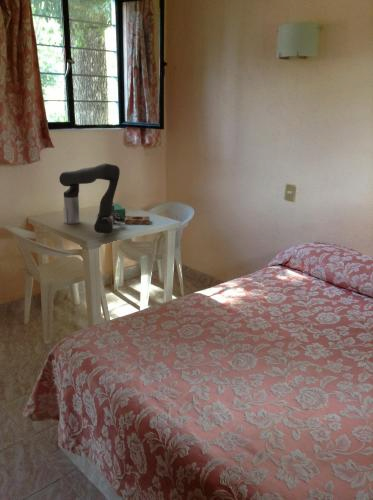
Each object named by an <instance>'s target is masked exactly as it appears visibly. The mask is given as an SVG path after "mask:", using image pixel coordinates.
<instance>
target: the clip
mask: <svg viewBox="0 0 373 500" xmlns="http://www.w3.org/2000/svg"><path fill="white" fill-rule="evenodd" d="M115 204H116V203H113V204H112V212H111V214H115ZM115 223H116V219H114V221H113V225H114V224H115Z"/></svg>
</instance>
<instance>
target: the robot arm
mask: <svg viewBox="0 0 373 500" xmlns="http://www.w3.org/2000/svg"><path fill="white" fill-rule="evenodd" d="M120 173H121V172H120V168H119V166H118V165H117V164H116V165H115V164H111V163H110V164H109V163H106V162H105V163H100V164H98V165H96V166H89V167H84V168H80V169H77V170H72V171H69V170H68V171H63V172H62V173H60V175H59V183H60V184H61V186H63V187H69V188H68V189H67V190H65V191H63V205H64V207H63V220H64V221H63V222H64V223H66V224H67V225H73V224H74V225H75V224H79V223H80V221H81V220H80V205H79V204H80V202H79V201H80V200H79V193H80V185H86V184H88V185H89V184H92V183H95V181H96V180H103V181H109V184H108V187H107V189H106V191H105V193H104V195H102V198H101V199H100V201H99V202H100V203H99V212H98V214H97V218H96V219H95V223H94V226H93V230H94V231H95V232H96V233H99V234H111V233H112V232H113V230H114V229H113V228H114V226H113V225H114V224H113V221H114V219H115V220H116V219H117V220H118V221H120V220H121V219H122V218H121V214H119V213H116V214H111V212H112V204H114V198H115V194H116V190H117V187H118V183H119V179H120V175H121V174H120Z"/></svg>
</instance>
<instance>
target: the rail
mask: <svg viewBox="0 0 373 500" xmlns="http://www.w3.org/2000/svg"><path fill="white" fill-rule="evenodd" d="M150 218H151V216H146V215H143V216H139V215H132V216H131V215H125V216H124V225H150V221H151V220H150Z"/></svg>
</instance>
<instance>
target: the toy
mask: <svg viewBox="0 0 373 500" xmlns="http://www.w3.org/2000/svg"><path fill="white" fill-rule="evenodd" d="M114 204H115V214H116V213H119V214H121V218H120V219H125V217H126V214H127V210H126V208H123V207H122V206H121V205H120V204H119V203H114Z"/></svg>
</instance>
